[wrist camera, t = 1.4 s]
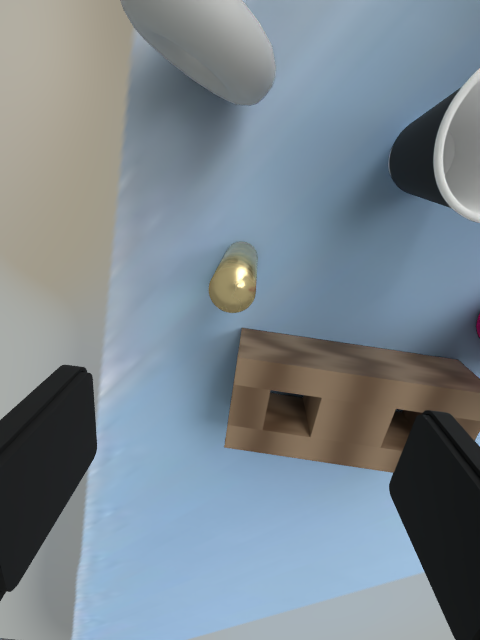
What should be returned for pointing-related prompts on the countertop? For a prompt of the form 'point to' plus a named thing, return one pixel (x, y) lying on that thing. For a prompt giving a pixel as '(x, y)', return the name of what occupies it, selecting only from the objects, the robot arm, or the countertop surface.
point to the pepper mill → (478, 326)
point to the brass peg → (235, 279)
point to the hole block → (340, 399)
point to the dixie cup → (443, 153)
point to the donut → (209, 44)
